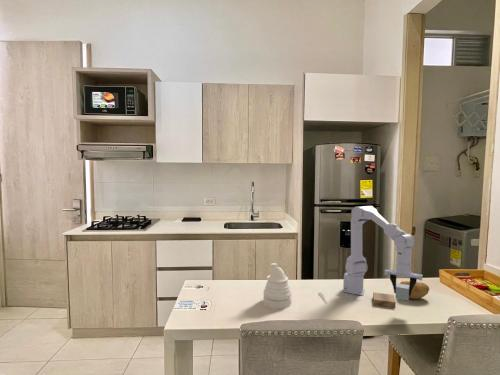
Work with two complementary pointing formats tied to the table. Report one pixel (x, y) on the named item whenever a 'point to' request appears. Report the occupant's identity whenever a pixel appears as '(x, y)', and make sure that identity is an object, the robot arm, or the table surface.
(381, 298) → the walnut block
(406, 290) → the cube
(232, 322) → the table surface
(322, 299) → the butter knife
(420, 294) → the potato
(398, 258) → the robot arm
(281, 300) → the honey pot
